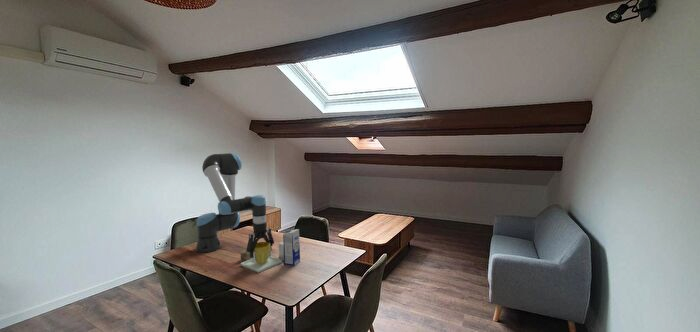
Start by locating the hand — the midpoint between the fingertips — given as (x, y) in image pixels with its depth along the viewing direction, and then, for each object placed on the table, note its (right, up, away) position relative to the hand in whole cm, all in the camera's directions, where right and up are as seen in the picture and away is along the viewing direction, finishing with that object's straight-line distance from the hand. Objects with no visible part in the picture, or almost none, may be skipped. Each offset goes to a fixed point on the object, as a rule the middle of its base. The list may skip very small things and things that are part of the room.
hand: (261, 259), depth 170 cm
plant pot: (0, -1, 0) cm, 1 cm away
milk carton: (+18, -2, +1) cm, 18 cm away
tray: (0, -3, 0) cm, 3 cm away
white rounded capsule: (+12, -2, +9) cm, 15 cm away
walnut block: (-11, -2, +7) cm, 13 cm away
